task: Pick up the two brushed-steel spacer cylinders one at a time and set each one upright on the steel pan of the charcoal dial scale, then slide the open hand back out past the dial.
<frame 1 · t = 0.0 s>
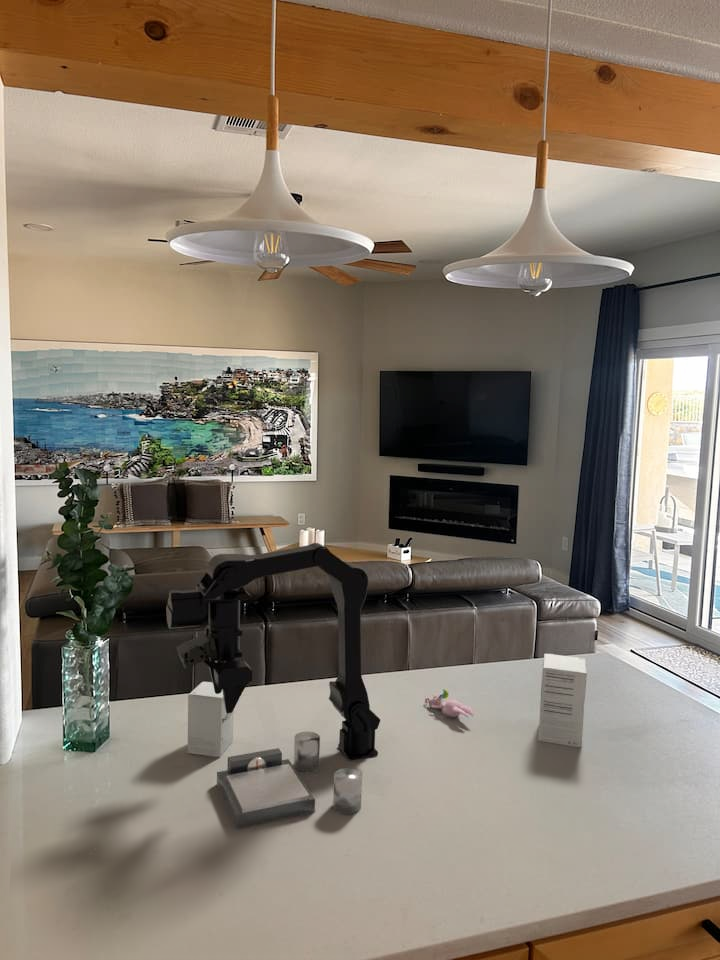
hand: (223, 702, 136), 15 cm above the kitchen counter, tool pointing down, fingers open, 9 cm apart
rabbit figure: (448, 716, 168), on the kitchen counter
supplement box: (210, 748, 149), on the kitchen counter
spacer 1: (306, 766, 142), on the kitchen counter
dial scale: (264, 797, 131), on the kitchen counter
supplement box 2: (559, 736, 159), on the kitchen counter
spacer 2: (347, 806, 129), on the kitchen counter
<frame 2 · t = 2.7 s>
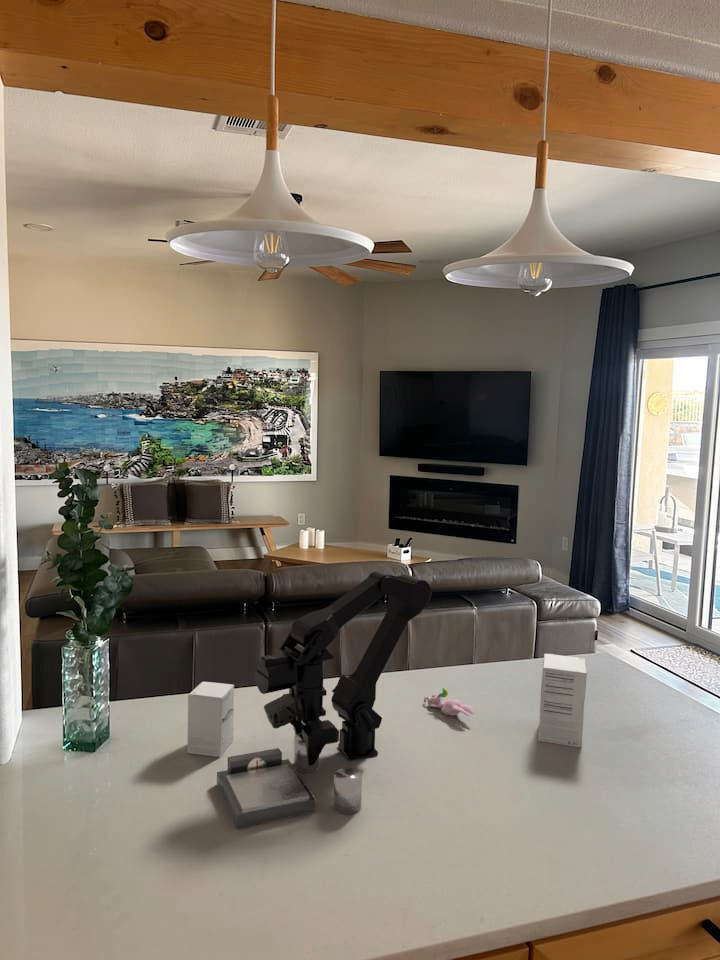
hand: (306, 758, 142), 2 cm above the kitchen counter, tool pointing down, fingers closed on spacer 1, 5 cm apart
spacer 1: (306, 765, 142), on the kitchen counter, touching gripper
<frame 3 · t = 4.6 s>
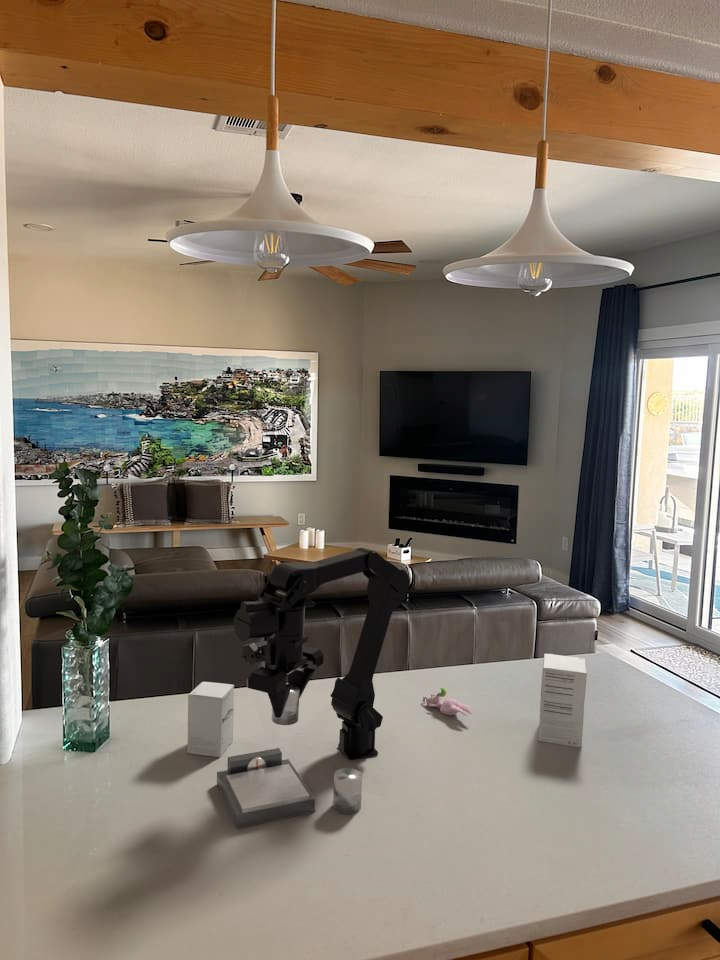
hand: (285, 711, 136), 13 cm above the kitchen counter, tool pointing down, fingers closed on spacer 1, 5 cm apart
spacer 1: (285, 719, 136), point 12 cm above the kitchen counter, touching gripper
when the fingers open (6 cm above the kitchen counter, at t = 6.7 s): spacer 1 drops 1 cm, resting on dial scale.
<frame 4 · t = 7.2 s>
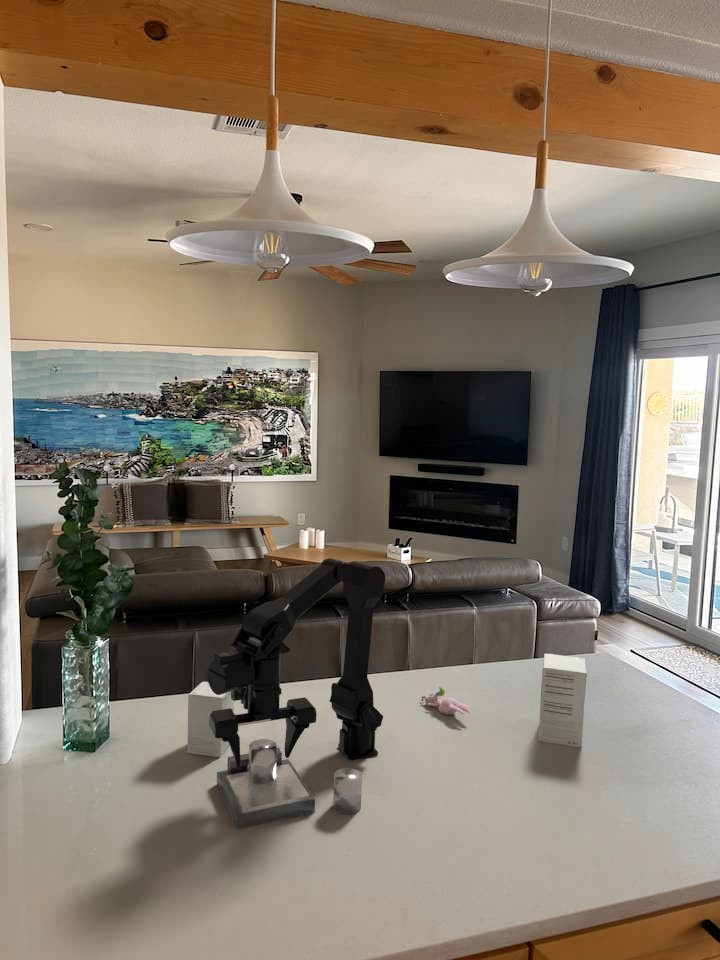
hand: (262, 761, 131), 6 cm above the kitchen counter, tool pointing down, fingers open, 9 cm apart
spacer 1: (262, 776, 132), point 3 cm above the kitchen counter, touching dial scale
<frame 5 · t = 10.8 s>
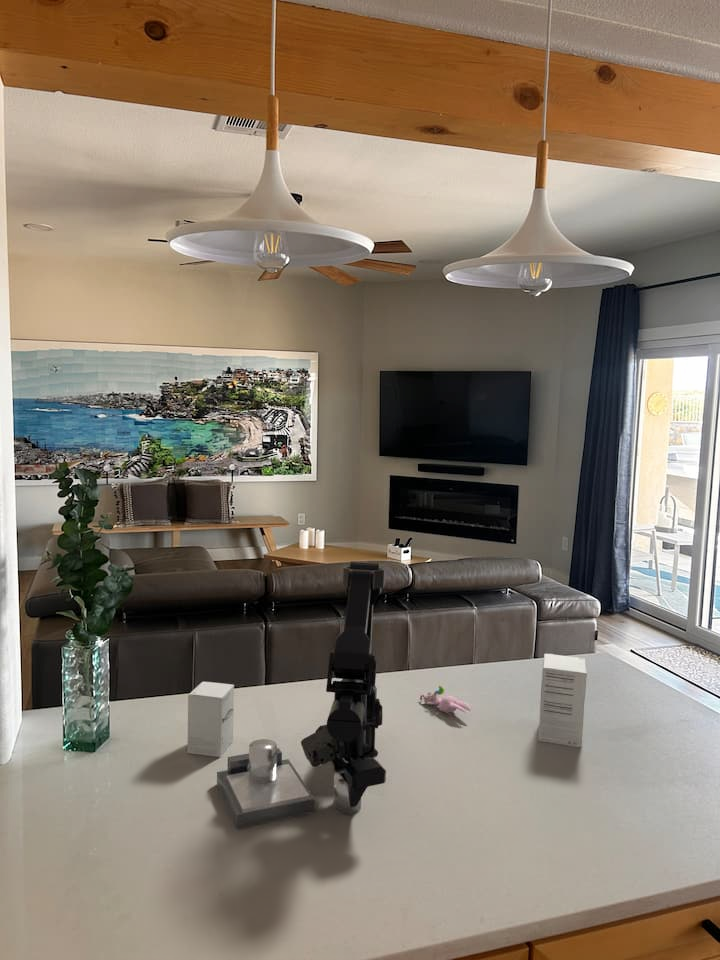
hand: (347, 798, 129), 2 cm above the kitchen counter, tool pointing down, fingers closed on spacer 2, 5 cm apart
spacer 2: (347, 806, 129), on the kitchen counter, touching gripper
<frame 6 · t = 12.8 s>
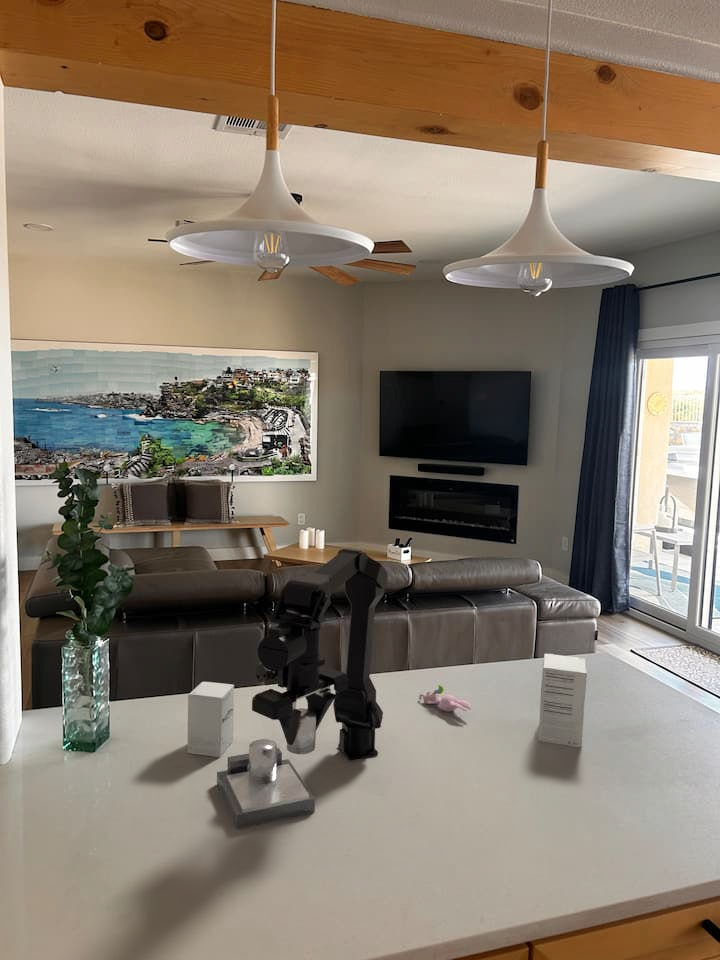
hand: (300, 738, 126), 13 cm above the kitchen counter, tool pointing down, fingers closed on spacer 2, 5 cm apart
spacer 2: (300, 747, 126), point 12 cm above the kitchen counter, touching gripper
when the fingers open (6 cm above the kitchen counter, at t = 14.8 s): spacer 2 drops 1 cm, resting on dial scale.
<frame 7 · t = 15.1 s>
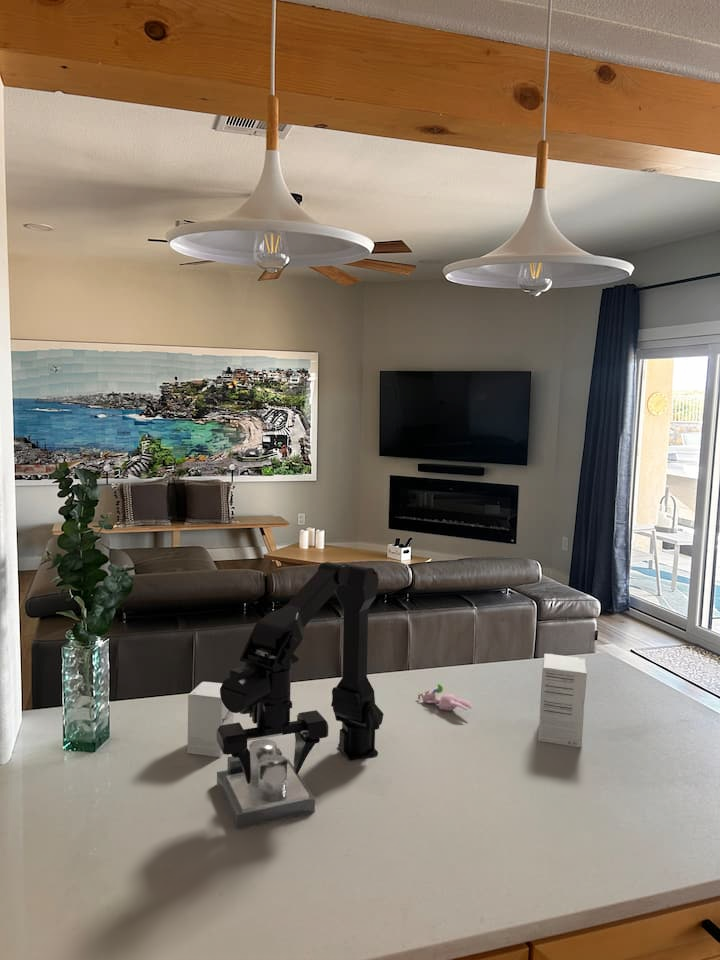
hand: (272, 777, 126), 6 cm above the kitchen counter, tool pointing down, fingers open, 8 cm apart
spacer 2: (272, 793, 126), point 3 cm above the kitchen counter, touching dial scale
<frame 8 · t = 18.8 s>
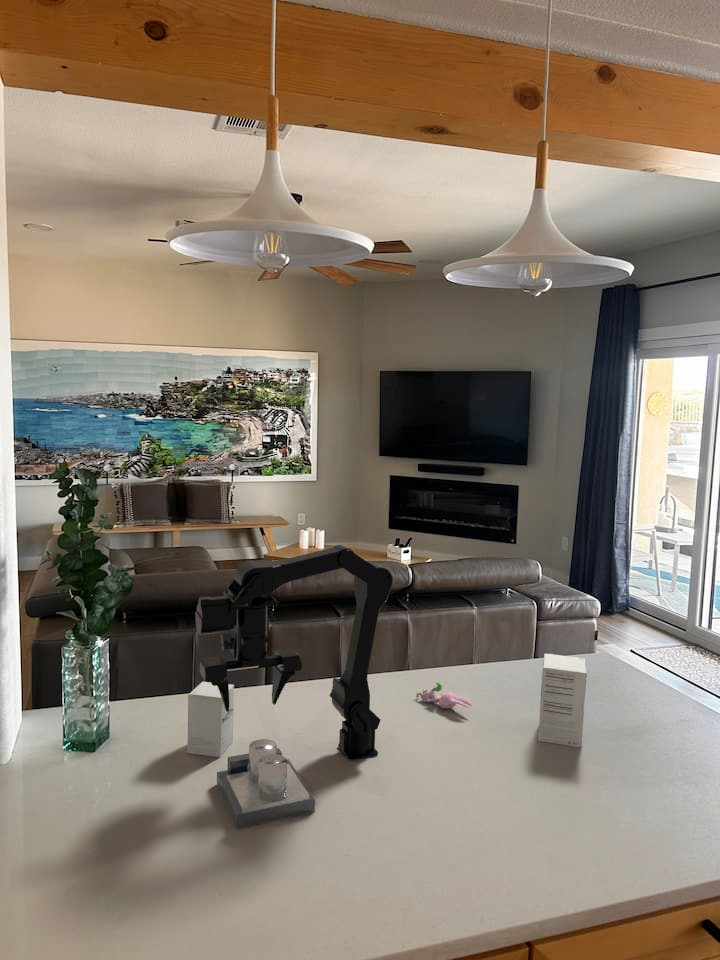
hand: (250, 707, 138), 13 cm above the kitchen counter, tool pointing down, fingers open, 9 cm apart
at the end: spacer 1 inside the target area on the dial scale (3.1 cm from its centre), point 3.2 cm above the dial scale's base; spacer 2 inside the target area on the dial scale (3.0 cm from its centre), point 3.2 cm above the dial scale's base; spacer 2 tilted 1° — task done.
